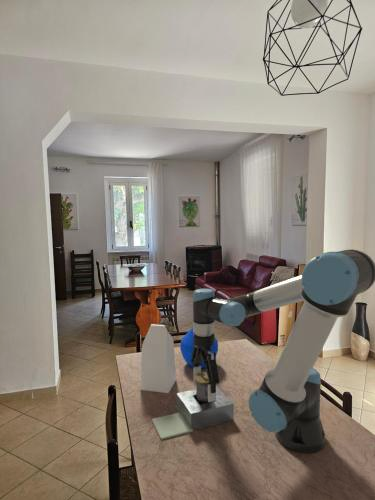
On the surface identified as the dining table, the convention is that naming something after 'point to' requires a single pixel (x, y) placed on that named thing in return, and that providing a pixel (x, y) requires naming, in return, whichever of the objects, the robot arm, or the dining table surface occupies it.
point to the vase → (187, 348)
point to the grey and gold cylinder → (201, 388)
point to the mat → (171, 425)
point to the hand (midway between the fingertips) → (204, 391)
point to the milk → (158, 360)
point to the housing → (204, 409)
